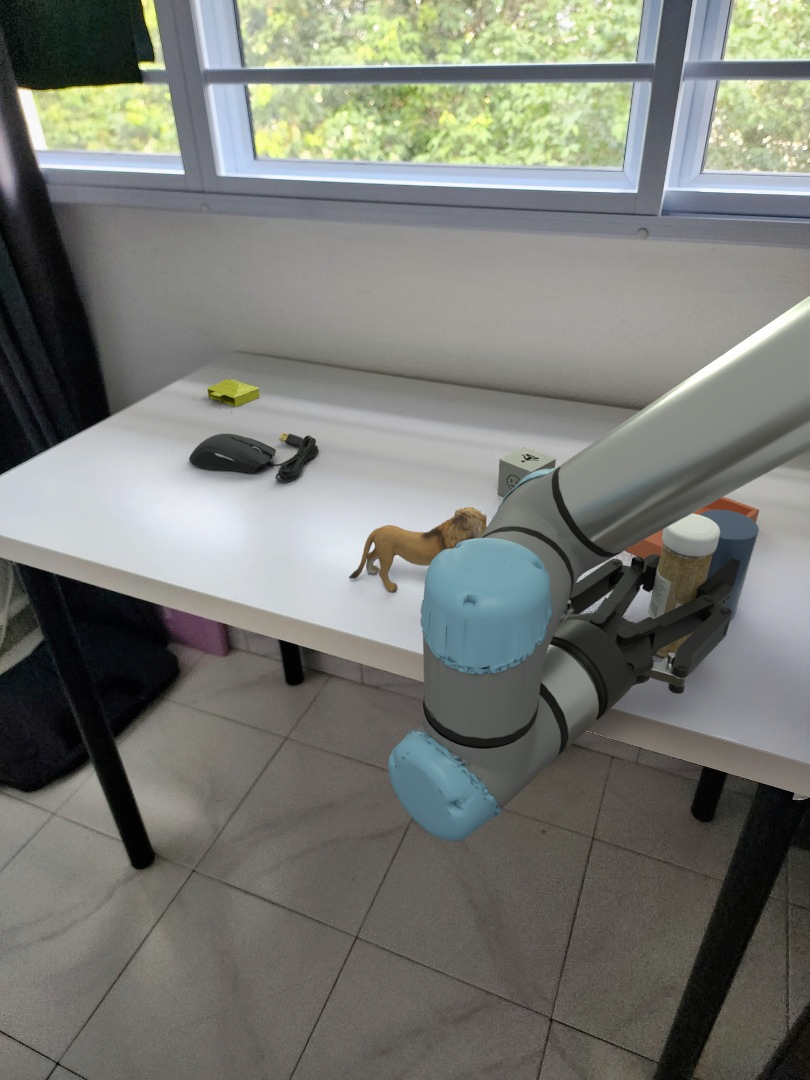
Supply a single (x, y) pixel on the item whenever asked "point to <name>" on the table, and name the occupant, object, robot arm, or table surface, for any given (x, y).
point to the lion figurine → (418, 543)
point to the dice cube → (520, 467)
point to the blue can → (733, 548)
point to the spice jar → (682, 567)
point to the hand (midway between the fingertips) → (707, 561)
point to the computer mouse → (251, 454)
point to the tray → (655, 541)
